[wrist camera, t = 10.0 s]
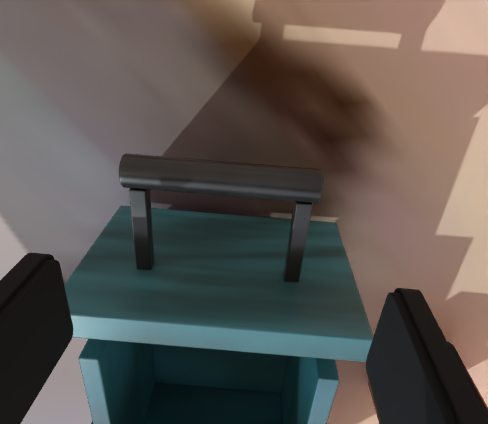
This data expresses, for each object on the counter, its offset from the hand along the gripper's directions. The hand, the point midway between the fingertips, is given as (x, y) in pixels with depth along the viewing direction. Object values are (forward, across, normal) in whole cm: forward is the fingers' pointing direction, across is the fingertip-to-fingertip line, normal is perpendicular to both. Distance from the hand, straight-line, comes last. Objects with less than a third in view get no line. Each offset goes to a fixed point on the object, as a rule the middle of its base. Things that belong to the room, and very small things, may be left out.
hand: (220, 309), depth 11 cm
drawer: (+9, +1, +6) cm, 11 cm away
